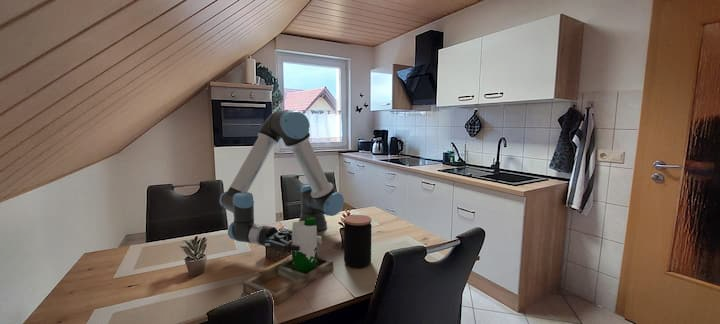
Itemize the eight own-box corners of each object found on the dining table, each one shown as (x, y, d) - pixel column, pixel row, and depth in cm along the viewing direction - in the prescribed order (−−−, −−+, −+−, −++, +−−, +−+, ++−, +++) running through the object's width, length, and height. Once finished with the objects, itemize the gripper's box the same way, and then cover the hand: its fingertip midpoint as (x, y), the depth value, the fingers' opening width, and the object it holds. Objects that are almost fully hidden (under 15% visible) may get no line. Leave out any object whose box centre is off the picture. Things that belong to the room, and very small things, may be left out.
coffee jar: (375, 260, 121) (376, 217, 119) (362, 271, 112) (362, 224, 110) (353, 255, 126) (353, 213, 124) (338, 265, 117) (338, 220, 115)
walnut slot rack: (303, 258, 122) (303, 251, 122) (333, 268, 114) (333, 260, 114) (243, 291, 98) (243, 282, 98) (275, 305, 90) (275, 296, 90)
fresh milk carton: (318, 275, 109) (318, 221, 107) (292, 278, 107) (292, 223, 104) (315, 264, 117) (315, 214, 115) (291, 267, 115) (290, 216, 113)
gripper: (281, 235, 127) (328, 244, 119) (244, 255, 108) (298, 267, 100) (280, 218, 126) (328, 225, 118) (244, 235, 107) (298, 245, 99)
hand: (315, 244), depth 109 cm, fingers closed on fresh milk carton, 8 cm apart
